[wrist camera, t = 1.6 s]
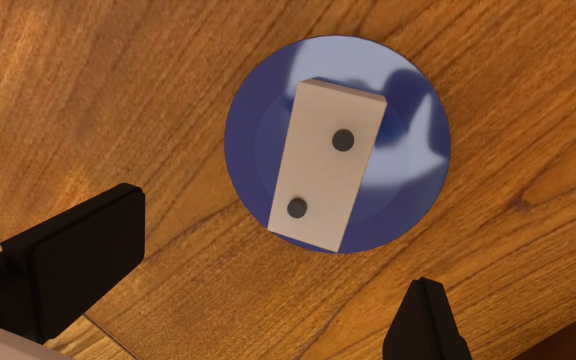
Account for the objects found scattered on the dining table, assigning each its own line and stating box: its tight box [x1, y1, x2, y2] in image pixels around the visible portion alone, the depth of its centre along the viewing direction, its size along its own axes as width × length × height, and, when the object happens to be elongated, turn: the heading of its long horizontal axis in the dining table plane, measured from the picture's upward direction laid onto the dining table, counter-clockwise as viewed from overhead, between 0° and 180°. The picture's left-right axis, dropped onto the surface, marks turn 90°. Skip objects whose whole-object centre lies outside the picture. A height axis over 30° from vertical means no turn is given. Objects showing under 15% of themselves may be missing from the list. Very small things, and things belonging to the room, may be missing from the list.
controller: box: [267, 78, 387, 252], centre depth 20 cm, size 10×5×4 cm, turn 168°
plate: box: [224, 34, 451, 253], centre depth 22 cm, size 16×16×1 cm
